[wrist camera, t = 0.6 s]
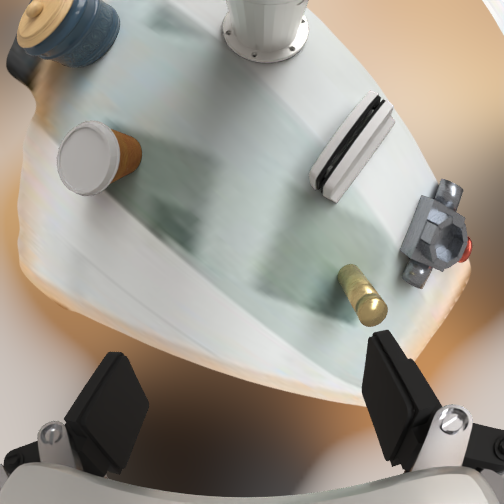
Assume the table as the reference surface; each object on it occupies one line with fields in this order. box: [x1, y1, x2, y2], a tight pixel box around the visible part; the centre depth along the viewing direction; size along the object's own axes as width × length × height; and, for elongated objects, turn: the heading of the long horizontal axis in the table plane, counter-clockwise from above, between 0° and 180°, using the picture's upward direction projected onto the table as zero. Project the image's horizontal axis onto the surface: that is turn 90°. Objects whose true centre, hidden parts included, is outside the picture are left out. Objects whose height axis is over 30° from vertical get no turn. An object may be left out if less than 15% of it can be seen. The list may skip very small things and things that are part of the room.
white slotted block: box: [309, 90, 395, 203], centre depth 34 cm, size 17×5×10 cm, turn 145°
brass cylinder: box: [338, 264, 388, 327], centre depth 39 cm, size 4×4×12 cm
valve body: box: [400, 179, 472, 289], centre depth 38 cm, size 18×12×7 cm, turn 162°
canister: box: [17, 0, 120, 67], centre depth 23 cm, size 13×13×18 cm
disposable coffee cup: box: [57, 121, 142, 196], centre depth 33 cm, size 10×10×12 cm
